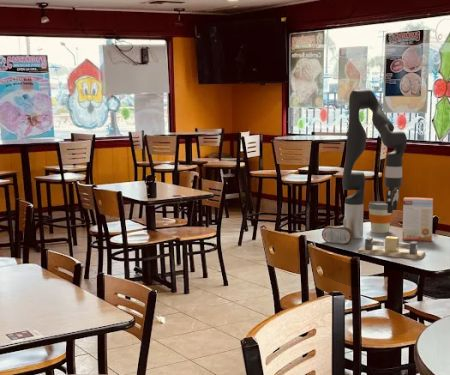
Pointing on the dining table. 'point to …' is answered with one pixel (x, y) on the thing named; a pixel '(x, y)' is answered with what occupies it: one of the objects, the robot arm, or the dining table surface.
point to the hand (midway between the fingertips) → (392, 211)
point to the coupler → (392, 244)
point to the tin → (337, 235)
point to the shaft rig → (403, 253)
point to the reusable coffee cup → (379, 217)
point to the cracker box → (417, 219)
